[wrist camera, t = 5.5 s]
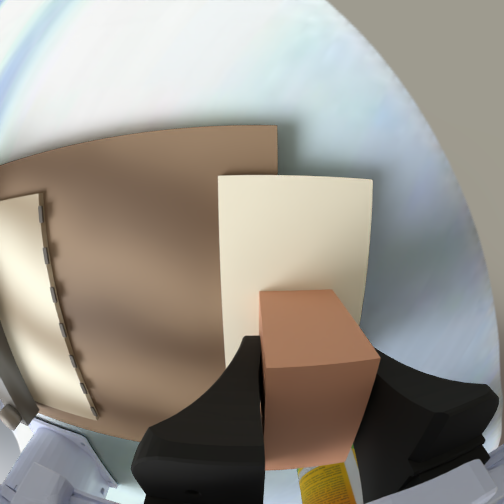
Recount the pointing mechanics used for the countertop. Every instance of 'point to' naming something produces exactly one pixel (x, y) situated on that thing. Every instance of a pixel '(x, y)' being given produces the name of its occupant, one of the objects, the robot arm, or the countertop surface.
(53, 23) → the countertop surface
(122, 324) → the ticket board
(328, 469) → the supplement bottle
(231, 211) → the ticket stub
